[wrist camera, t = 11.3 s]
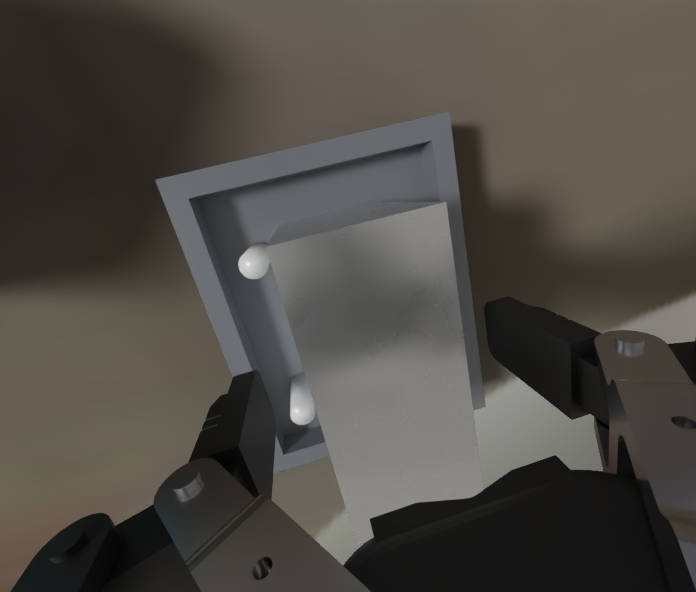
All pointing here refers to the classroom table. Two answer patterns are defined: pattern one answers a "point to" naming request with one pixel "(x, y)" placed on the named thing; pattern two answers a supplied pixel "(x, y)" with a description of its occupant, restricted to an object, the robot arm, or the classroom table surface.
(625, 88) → the classroom table surface
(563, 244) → the classroom table surface
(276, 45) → the classroom table surface
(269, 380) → the tray
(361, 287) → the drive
